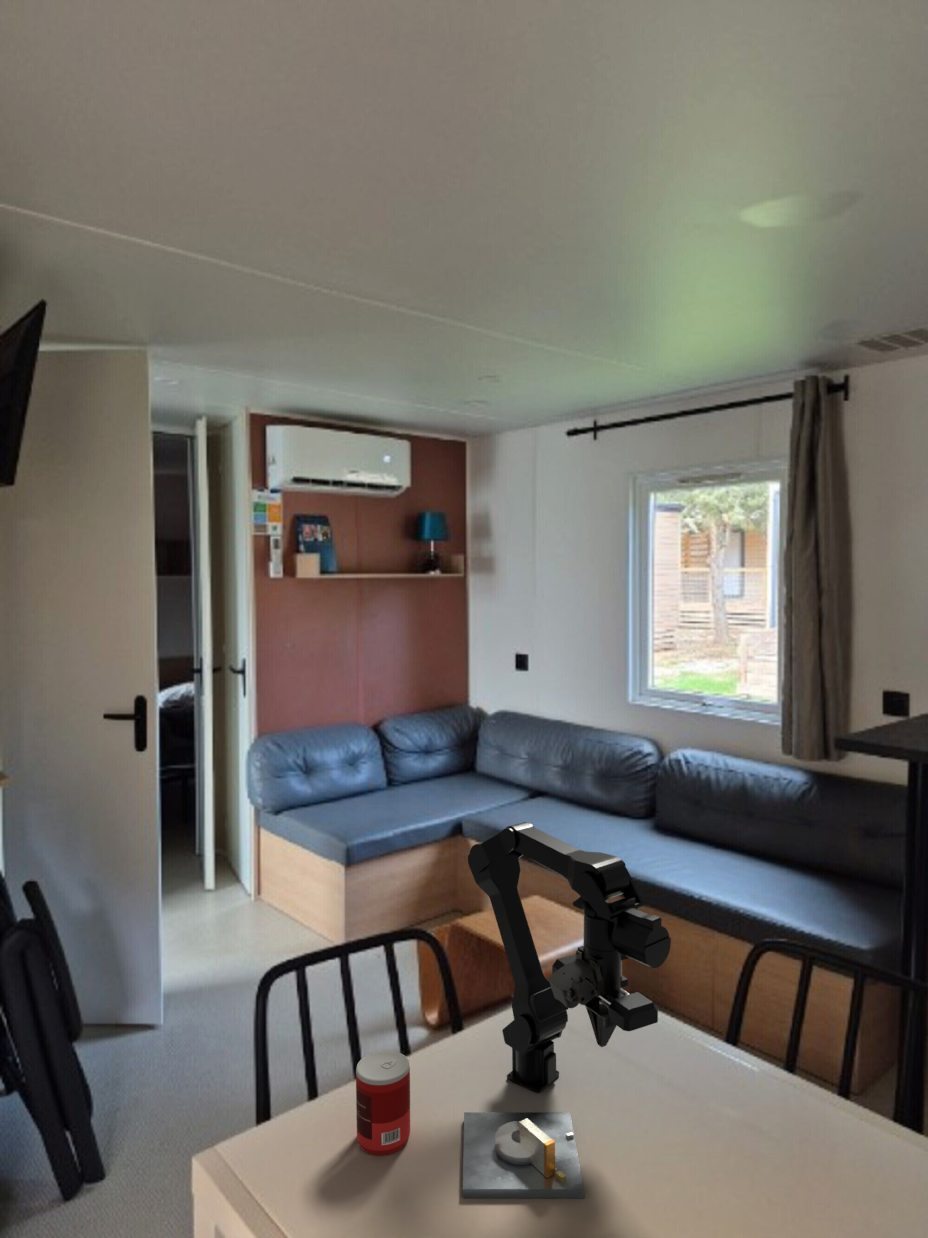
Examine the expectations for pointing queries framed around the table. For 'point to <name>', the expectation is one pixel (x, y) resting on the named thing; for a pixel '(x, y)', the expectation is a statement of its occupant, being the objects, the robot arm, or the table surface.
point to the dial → (526, 1146)
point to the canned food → (383, 1102)
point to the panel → (509, 1180)
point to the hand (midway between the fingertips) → (601, 1045)
